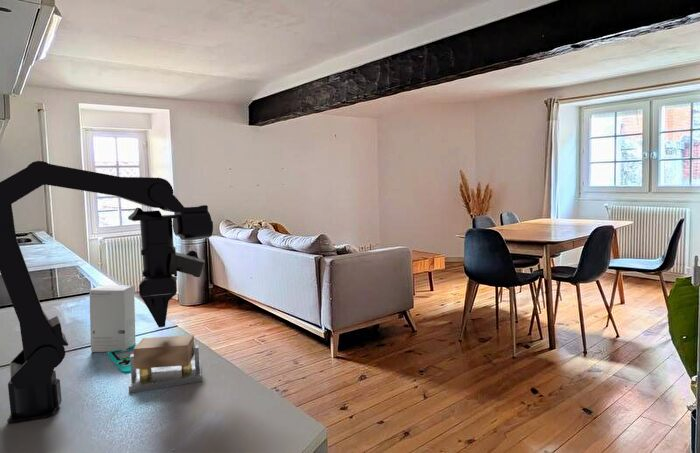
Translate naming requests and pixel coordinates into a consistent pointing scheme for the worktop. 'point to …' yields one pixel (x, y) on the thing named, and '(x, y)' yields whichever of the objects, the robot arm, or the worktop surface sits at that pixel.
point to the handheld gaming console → (121, 360)
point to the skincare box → (112, 318)
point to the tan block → (164, 351)
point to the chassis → (164, 375)
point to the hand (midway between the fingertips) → (162, 320)
